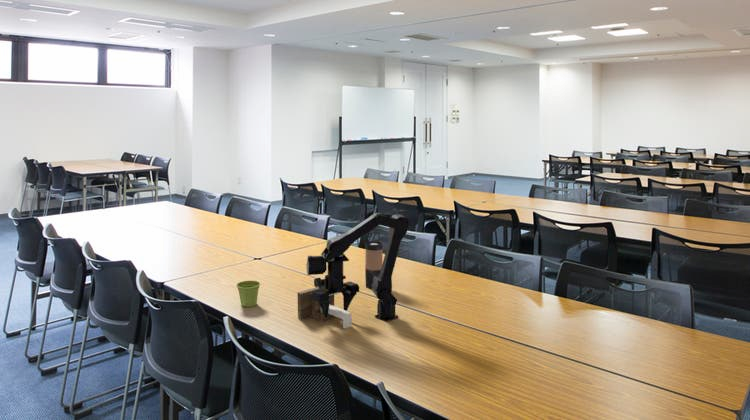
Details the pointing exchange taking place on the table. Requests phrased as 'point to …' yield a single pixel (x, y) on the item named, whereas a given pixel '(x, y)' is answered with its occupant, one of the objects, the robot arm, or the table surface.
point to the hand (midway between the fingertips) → (335, 314)
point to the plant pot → (248, 292)
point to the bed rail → (340, 315)
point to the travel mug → (372, 261)
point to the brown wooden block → (312, 305)
